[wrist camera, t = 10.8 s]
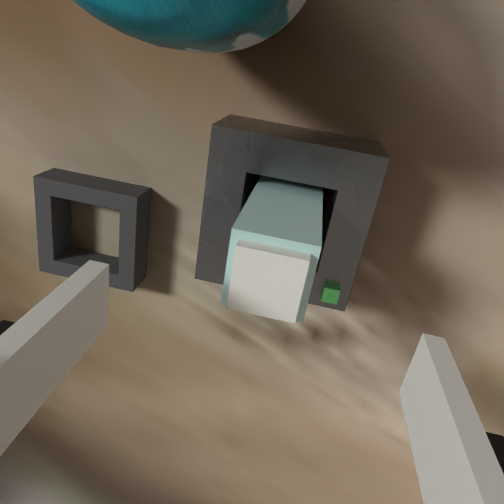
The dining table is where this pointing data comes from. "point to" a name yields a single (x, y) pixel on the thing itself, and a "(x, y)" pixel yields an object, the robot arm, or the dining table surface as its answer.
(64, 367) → the robot arm
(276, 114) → the dining table surface
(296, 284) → the plug
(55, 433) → the dining table surface
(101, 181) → the holster
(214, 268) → the port panel
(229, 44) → the vase
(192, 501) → the dining table surface
